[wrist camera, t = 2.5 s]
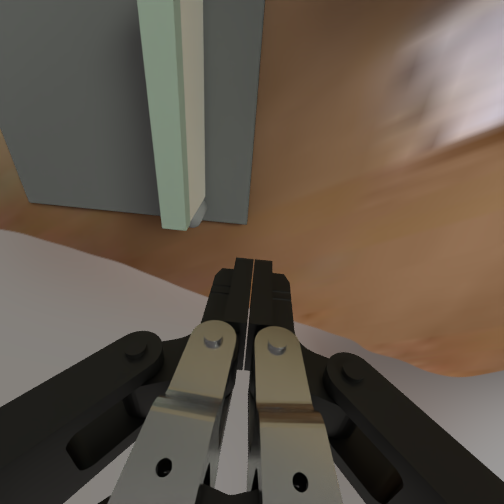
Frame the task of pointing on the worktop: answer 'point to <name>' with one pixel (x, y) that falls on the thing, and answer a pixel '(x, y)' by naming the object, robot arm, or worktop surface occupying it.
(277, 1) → the worktop surface
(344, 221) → the worktop surface
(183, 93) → the gate
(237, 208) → the gate frame
